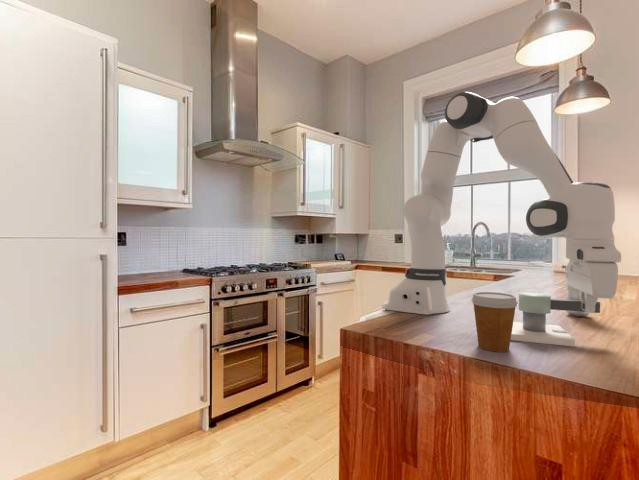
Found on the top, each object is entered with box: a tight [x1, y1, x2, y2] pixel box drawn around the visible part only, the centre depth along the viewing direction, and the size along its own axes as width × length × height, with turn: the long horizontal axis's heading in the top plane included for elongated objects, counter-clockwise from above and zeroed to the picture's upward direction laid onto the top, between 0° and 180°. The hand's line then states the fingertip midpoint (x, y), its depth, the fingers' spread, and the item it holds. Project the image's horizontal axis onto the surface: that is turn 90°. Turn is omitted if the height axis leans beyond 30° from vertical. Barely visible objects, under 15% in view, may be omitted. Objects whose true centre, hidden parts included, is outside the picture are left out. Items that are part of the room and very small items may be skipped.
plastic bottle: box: [564, 262, 591, 318], centre depth 111 cm, size 6×7×20 cm
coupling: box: [518, 292, 601, 315], centre depth 88 cm, size 17×7×4 cm, turn 68°
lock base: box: [510, 311, 576, 347], centre depth 90 cm, size 14×14×6 cm
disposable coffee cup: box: [470, 291, 519, 353], centre depth 80 cm, size 10×10×12 cm
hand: (588, 311), depth 81 cm, fingers closed
